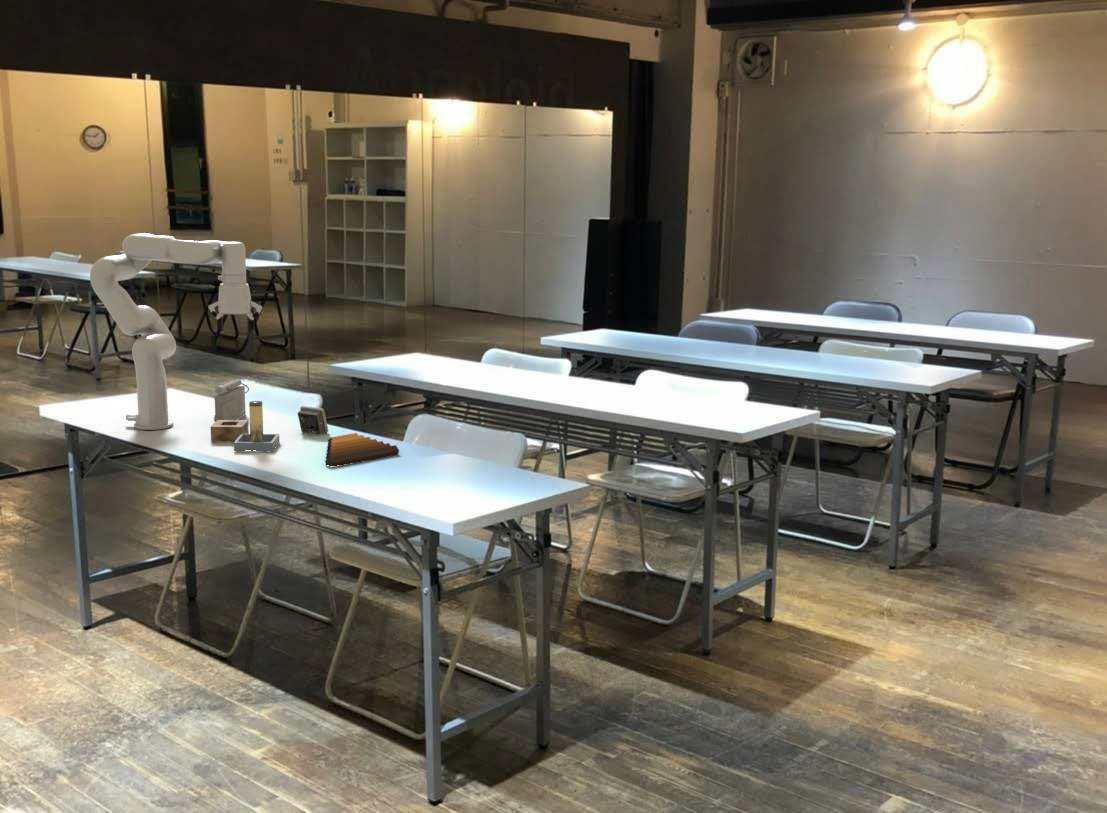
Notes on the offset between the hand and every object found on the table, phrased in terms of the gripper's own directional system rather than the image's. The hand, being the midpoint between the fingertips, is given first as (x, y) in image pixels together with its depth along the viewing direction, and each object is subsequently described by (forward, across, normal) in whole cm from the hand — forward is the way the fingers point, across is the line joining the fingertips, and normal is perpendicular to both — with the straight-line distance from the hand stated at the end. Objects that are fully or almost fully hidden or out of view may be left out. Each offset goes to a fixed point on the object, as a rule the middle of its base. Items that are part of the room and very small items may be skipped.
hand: (236, 331), depth 345 cm
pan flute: (+35, +38, -29) cm, 59 cm away
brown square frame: (+34, -1, -10) cm, 36 cm away
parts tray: (+34, +10, -22) cm, 42 cm away
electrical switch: (+35, +25, -2) cm, 43 cm away
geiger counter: (+35, -6, +14) cm, 38 cm away
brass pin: (+34, +10, -22) cm, 41 cm away
